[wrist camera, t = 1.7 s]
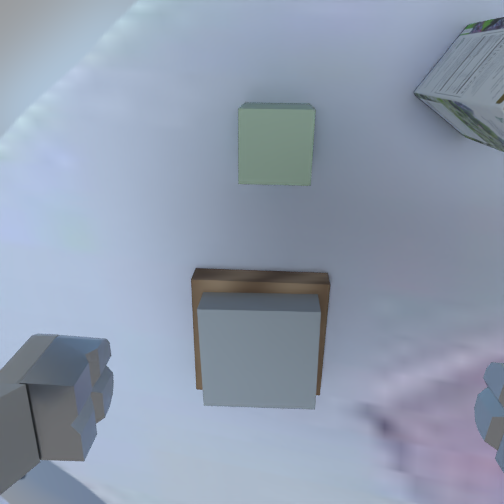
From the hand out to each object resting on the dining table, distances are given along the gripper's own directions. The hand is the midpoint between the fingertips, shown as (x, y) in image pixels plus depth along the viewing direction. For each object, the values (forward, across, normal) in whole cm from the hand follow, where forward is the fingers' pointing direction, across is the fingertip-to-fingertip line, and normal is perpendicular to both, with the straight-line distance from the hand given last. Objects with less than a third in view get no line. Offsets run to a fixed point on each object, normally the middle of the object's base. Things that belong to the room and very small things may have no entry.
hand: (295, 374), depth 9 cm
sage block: (+28, 0, -2) cm, 28 cm away
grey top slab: (+25, 0, +16) cm, 30 cm away
